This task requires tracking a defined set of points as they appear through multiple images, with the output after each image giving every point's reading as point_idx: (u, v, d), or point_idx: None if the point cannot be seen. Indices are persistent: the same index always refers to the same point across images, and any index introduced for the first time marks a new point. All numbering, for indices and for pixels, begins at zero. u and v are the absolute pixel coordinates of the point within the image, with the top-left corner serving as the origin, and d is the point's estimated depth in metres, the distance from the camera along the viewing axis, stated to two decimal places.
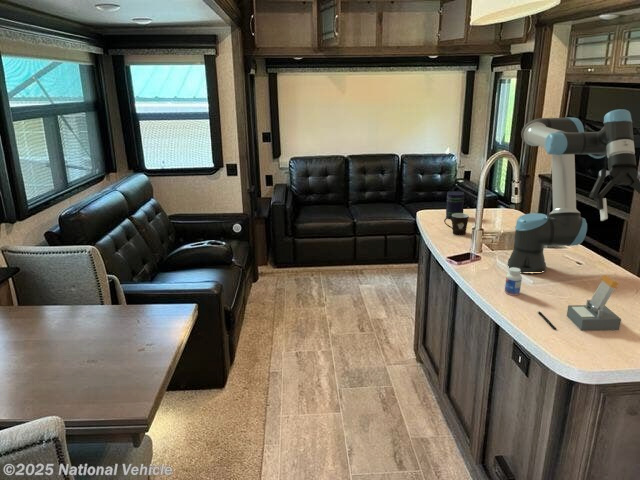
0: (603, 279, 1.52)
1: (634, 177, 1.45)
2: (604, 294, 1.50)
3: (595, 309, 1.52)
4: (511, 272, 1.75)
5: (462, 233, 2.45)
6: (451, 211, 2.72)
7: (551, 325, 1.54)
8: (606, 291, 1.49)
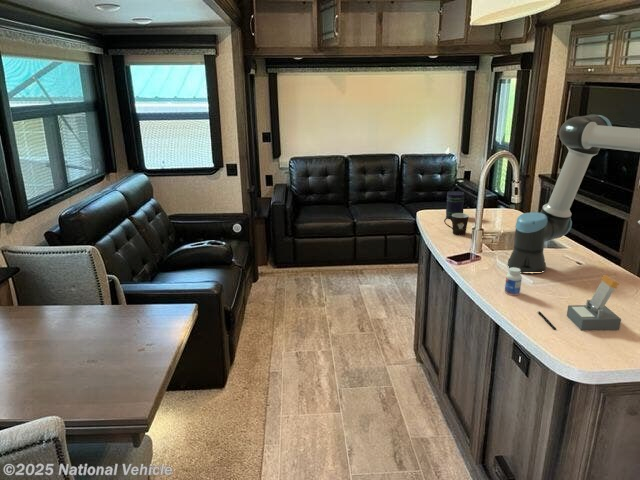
0: (603, 279, 1.52)
1: None
2: (604, 294, 1.50)
3: (595, 309, 1.52)
4: (511, 272, 1.75)
5: (462, 233, 2.45)
6: (451, 211, 2.72)
7: (551, 325, 1.54)
8: (606, 291, 1.49)
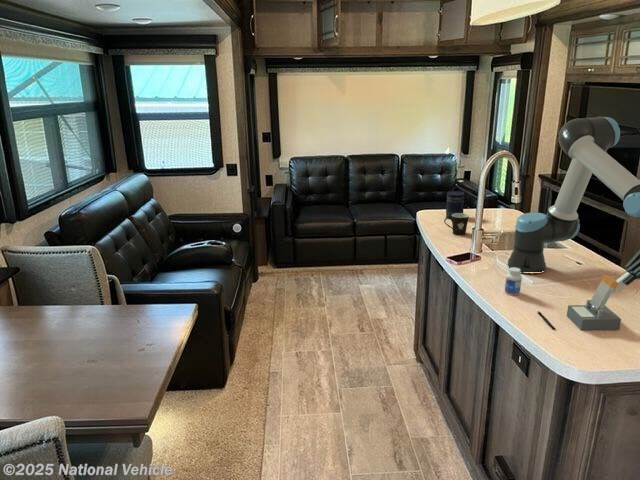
0: (603, 279, 1.52)
1: None
2: (604, 294, 1.50)
3: (595, 309, 1.52)
4: (511, 272, 1.75)
5: (462, 233, 2.45)
6: (451, 211, 2.72)
7: (550, 325, 1.54)
8: (606, 291, 1.49)
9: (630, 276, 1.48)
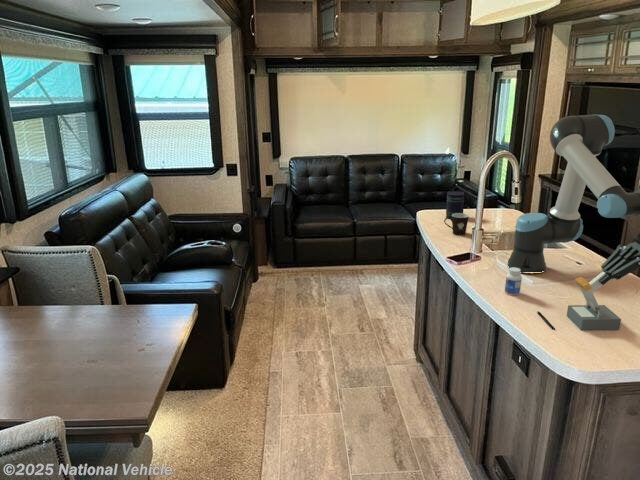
0: (578, 284, 1.53)
1: None
2: (588, 297, 1.50)
3: (594, 311, 1.52)
4: (511, 272, 1.75)
5: (462, 233, 2.45)
6: (451, 211, 2.72)
7: (550, 325, 1.54)
8: (587, 294, 1.50)
9: (606, 276, 1.49)
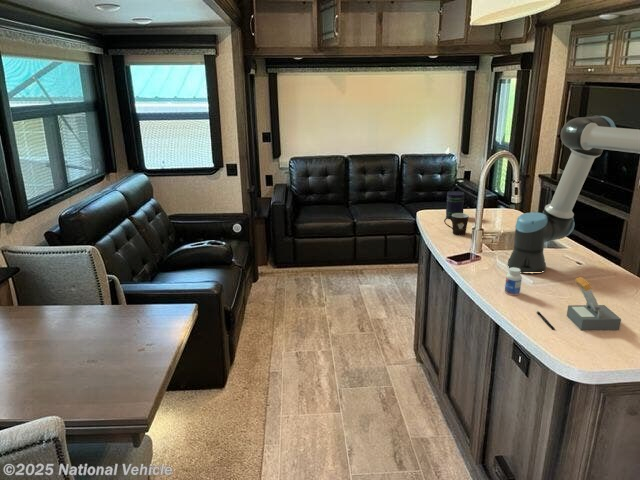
0: (577, 284, 1.53)
1: None
2: (588, 297, 1.50)
3: (594, 311, 1.52)
4: (511, 272, 1.75)
5: (462, 233, 2.45)
6: (451, 211, 2.72)
7: (549, 325, 1.54)
8: (587, 294, 1.50)
9: None
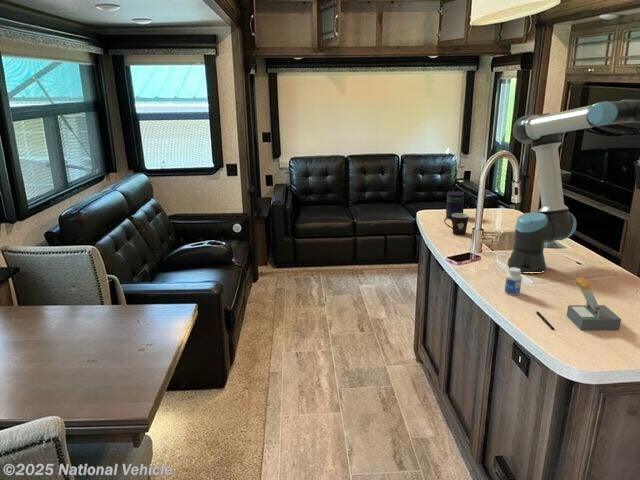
0: (577, 284, 1.53)
1: None
2: (588, 297, 1.50)
3: (594, 311, 1.52)
4: (511, 272, 1.75)
5: (462, 233, 2.45)
6: (451, 211, 2.72)
7: (549, 325, 1.54)
8: (587, 294, 1.50)
9: None
